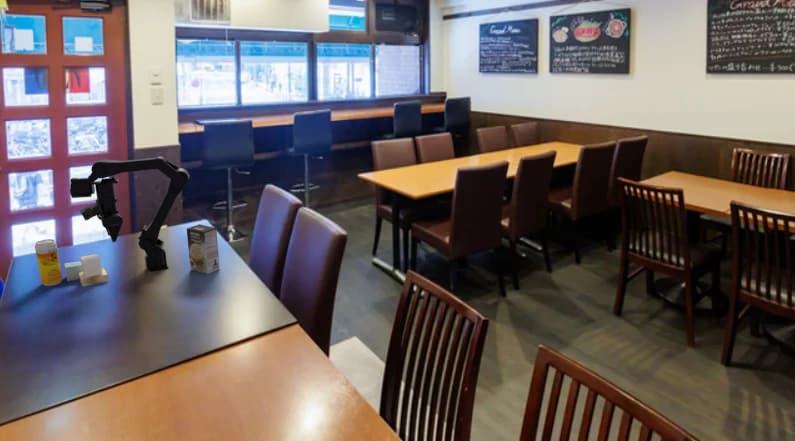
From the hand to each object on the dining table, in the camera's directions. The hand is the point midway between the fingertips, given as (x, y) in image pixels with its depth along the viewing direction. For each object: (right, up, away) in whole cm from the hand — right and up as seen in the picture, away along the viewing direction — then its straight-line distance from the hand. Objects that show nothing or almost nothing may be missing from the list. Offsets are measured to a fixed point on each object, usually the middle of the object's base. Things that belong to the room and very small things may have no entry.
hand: (112, 238), depth 192 cm
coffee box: (+31, -12, +6) cm, 34 cm away
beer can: (-16, -15, -8) cm, 24 cm away
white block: (-4, -12, -6) cm, 14 cm away
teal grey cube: (-12, -14, -2) cm, 18 cm away
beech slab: (-4, -15, -5) cm, 16 cm away
